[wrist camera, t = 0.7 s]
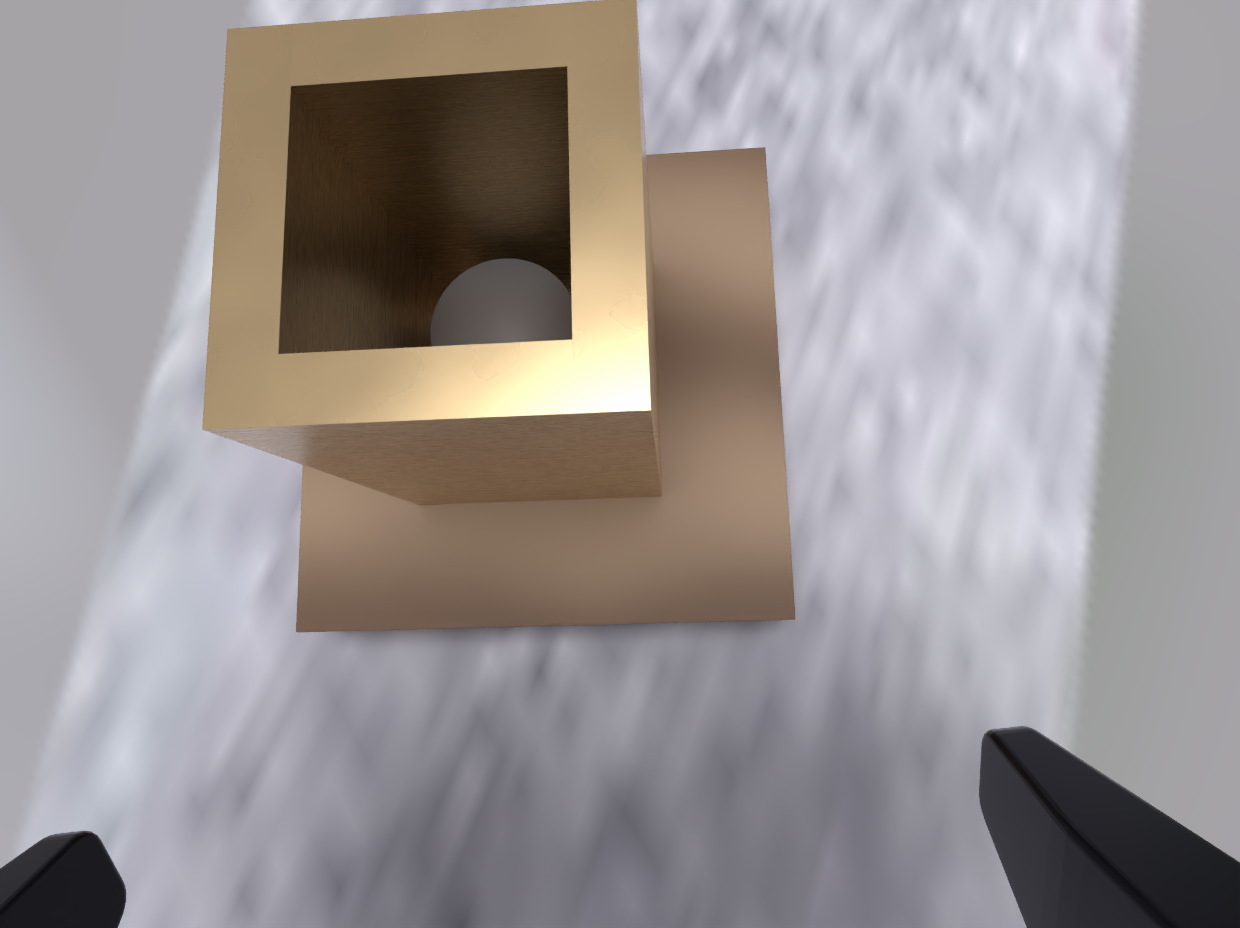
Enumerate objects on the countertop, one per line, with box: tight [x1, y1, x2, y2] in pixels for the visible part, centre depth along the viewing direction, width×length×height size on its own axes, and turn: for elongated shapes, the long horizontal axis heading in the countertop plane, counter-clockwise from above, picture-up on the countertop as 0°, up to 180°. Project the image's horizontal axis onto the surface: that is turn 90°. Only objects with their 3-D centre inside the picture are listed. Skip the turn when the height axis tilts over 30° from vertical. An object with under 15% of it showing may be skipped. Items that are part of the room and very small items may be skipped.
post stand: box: [296, 147, 795, 632], centre depth 19 cm, size 12×12×6 cm
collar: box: [202, 0, 662, 505], centre depth 15 cm, size 6×6×9 cm
